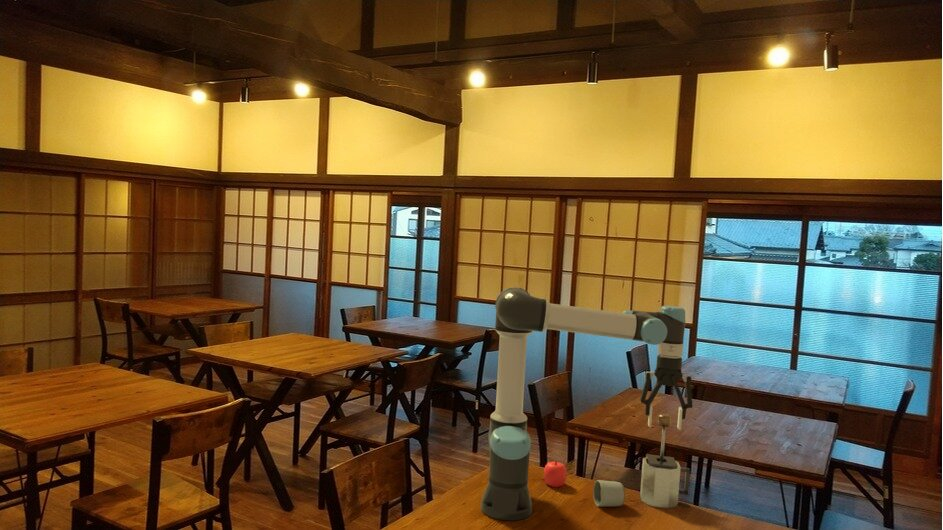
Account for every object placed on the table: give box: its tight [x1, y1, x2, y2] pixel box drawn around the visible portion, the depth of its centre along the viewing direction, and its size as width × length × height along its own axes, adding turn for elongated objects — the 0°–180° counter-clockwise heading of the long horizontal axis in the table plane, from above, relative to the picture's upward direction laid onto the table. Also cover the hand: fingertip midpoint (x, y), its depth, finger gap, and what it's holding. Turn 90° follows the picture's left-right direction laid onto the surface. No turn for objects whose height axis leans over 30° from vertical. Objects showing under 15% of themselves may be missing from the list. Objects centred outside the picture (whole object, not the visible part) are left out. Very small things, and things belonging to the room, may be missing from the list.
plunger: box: [657, 413, 673, 469], centre depth 208 cm, size 8×8×18 cm
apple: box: [543, 460, 568, 488], centre depth 218 cm, size 8×8×8 cm
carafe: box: [639, 454, 691, 510], centre depth 208 cm, size 14×11×13 cm
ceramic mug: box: [592, 479, 626, 508], centre depth 205 cm, size 11×8×8 cm
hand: (664, 427), depth 208 cm, fingers open, 8 cm apart
